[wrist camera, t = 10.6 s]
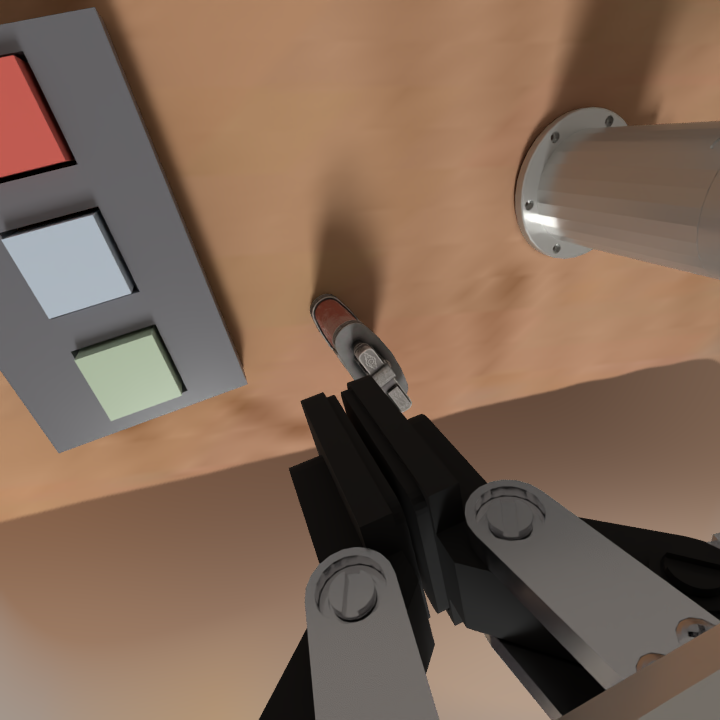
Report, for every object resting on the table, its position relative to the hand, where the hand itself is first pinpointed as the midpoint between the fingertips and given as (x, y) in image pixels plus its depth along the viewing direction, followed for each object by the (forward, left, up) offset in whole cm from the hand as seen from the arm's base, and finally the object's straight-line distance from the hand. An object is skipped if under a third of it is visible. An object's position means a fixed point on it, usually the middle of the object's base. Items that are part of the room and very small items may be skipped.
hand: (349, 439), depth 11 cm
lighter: (-6, +10, -27) cm, 30 cm away
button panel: (+10, -2, -27) cm, 29 cm away
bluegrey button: (+10, -2, -26) cm, 28 cm away
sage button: (+10, +6, -26) cm, 29 cm away
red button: (+10, -10, -26) cm, 30 cm away
